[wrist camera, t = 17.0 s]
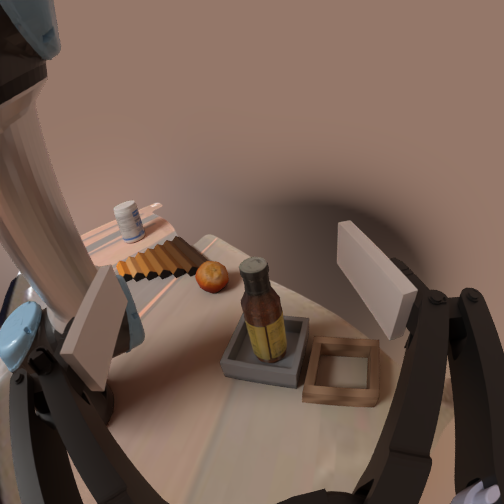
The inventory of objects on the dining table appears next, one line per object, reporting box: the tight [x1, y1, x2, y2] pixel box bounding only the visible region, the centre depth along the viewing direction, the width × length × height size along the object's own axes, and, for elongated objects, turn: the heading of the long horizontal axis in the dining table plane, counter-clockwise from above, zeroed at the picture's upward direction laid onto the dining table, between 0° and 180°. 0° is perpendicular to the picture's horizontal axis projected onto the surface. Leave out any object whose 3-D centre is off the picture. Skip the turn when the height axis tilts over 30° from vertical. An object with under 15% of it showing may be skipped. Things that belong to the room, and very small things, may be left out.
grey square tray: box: [220, 313, 309, 389], centre depth 48 cm, size 13×13×4 cm
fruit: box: [195, 261, 229, 293], centre depth 68 cm, size 8×8×8 cm
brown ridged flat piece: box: [116, 236, 208, 282], centre depth 79 cm, size 25×3×25 cm
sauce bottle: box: [239, 257, 287, 363], centre depth 43 cm, size 6×6×20 cm
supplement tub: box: [114, 201, 145, 243], centre depth 100 cm, size 10×10×15 cm
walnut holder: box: [302, 336, 379, 407], centre depth 41 cm, size 12×12×4 cm
